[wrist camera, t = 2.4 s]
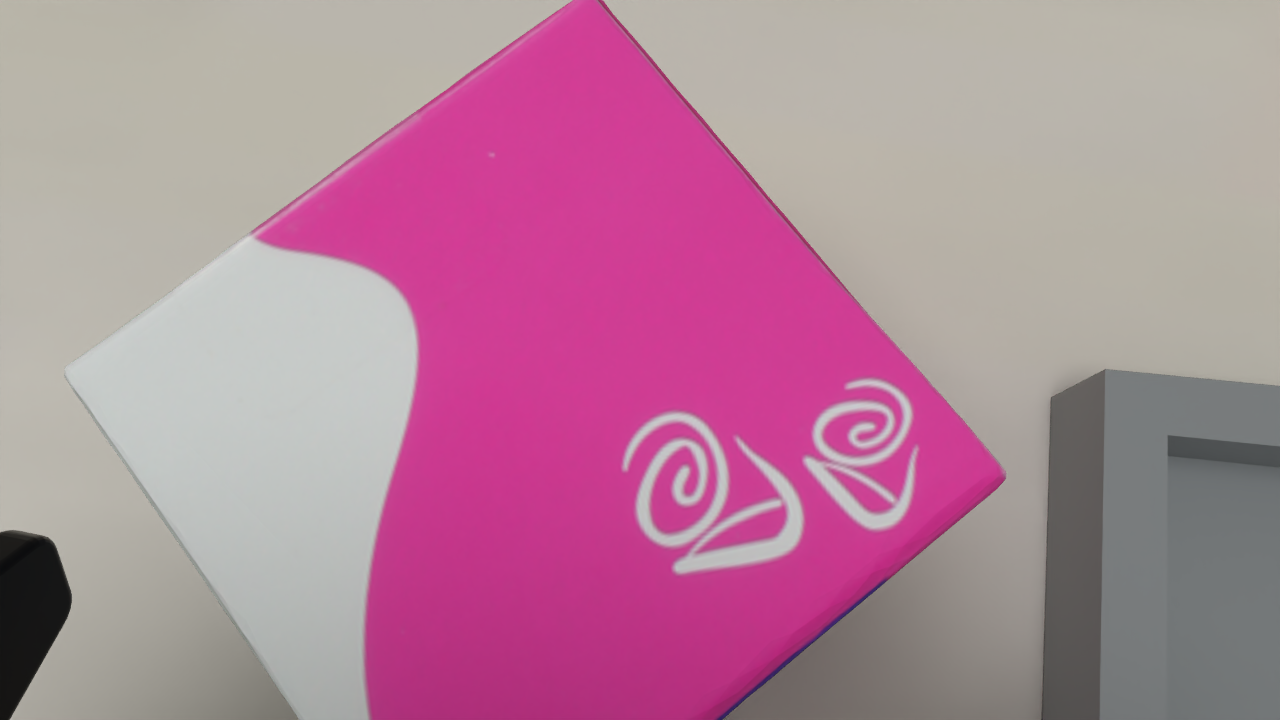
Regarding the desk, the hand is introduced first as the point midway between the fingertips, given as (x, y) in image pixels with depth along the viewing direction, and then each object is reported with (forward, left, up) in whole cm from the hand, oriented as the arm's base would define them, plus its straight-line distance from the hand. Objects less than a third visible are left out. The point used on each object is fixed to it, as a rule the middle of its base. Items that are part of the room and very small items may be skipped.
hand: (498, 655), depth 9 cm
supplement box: (+2, 0, -10) cm, 10 cm away
